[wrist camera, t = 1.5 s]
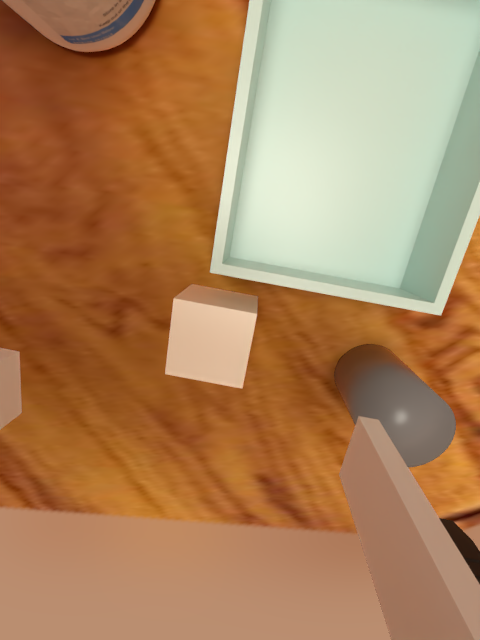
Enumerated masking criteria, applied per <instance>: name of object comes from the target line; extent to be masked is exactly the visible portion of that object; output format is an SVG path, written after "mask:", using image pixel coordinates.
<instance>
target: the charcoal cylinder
mask: <svg viewBox="0 0 480 640" xmlns="http://www.w3.org/2000/svg"><path fill="white" fill-rule="evenodd" d="M334 378H335V383H336V386H337V388H338V390H339V392H340V394H341V396H342V398H343V401H344V403H345V405H346V407H347V409H348V411H349V413H350V415H351V417H352V419H353V421H354V423H355V425H356V422H357V419H358V416H361V417H366V418H372V419H377V420H379V421H380V423H381V424H382V426H383V428H384V429H385V431H386V433H387V434H388V436H389V437H390V439H391V441H392V442H393V444H394V446H395V447H396V449H397V450H398V452H399V454H400V455H401V457H402V459H403V460H404V462H405V464H406V465H407V467H415V466H419V465H423V464H426V463H428V462H430V461H432V460H434V459H435V458H437V457H438V456H440V455H441V454H442V453H443V452H444V451H445V450H446V449H447V448H448V446H449V445H450V443H451V442H452V440H453V437H454V434H455V430H456V422H455V417H454V414H453V412H452V410H451V408H450V407H449V405H448V404H447V403H446V402H445V401H444V400H443V399H441V398H440V397H439V396H438V395H437V394H436V393H435V392H434V391H433V390H432V389H431V388H430V387H429V386H428V385H427V384H425V383H424V382H423V381H422V380H421V379H420V378H419V377H418V376H417V375H416V374H415V373H414V372H413V371H412V370H411V369H409V368H408V367H407V366H406V365H405V364H404V363H403V362H402V361H401V360H400V359H399V358H398V357H397V356H396V355H395V354H393V353H392V352H391V351H390V350H389V349H387V348H385V347H383V346H380V345H374V344H366V345H361V346H357V347H355V348H353V349H351V350H349V351H348V352H346V353H345V354H344V355H343V356H342V357H341V359H340V360H339V361H338V363H337V365H336V368H335V374H334Z"/></svg>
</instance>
